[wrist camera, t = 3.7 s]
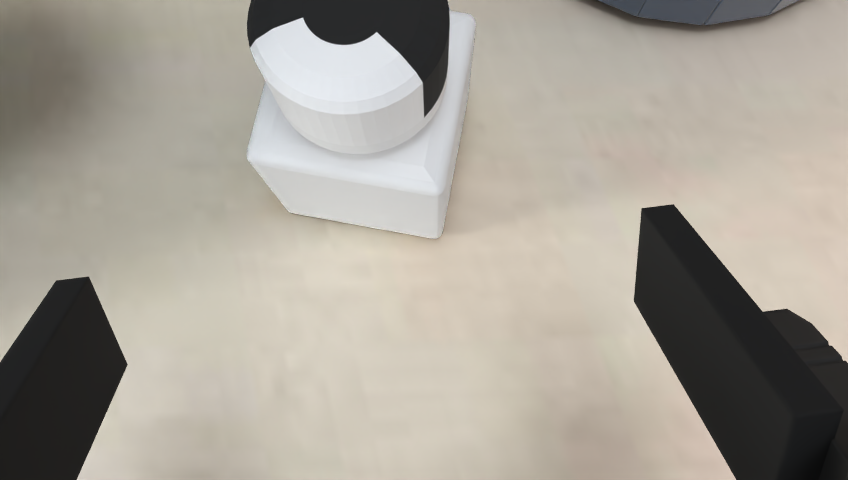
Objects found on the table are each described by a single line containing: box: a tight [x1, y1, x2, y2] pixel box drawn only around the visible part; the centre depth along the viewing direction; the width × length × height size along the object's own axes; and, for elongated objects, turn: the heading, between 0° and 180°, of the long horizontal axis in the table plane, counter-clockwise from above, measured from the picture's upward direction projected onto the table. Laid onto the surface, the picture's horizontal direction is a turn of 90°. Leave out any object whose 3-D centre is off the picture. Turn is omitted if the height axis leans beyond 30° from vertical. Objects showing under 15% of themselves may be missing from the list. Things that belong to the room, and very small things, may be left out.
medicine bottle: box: [247, 0, 476, 239], centre depth 25 cm, size 7×7×12 cm
